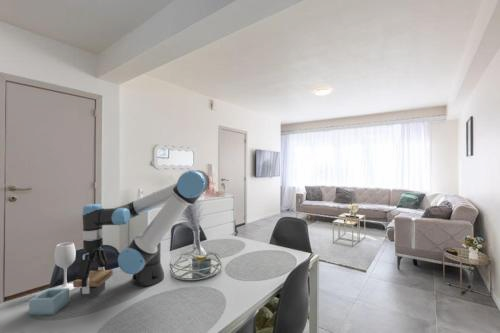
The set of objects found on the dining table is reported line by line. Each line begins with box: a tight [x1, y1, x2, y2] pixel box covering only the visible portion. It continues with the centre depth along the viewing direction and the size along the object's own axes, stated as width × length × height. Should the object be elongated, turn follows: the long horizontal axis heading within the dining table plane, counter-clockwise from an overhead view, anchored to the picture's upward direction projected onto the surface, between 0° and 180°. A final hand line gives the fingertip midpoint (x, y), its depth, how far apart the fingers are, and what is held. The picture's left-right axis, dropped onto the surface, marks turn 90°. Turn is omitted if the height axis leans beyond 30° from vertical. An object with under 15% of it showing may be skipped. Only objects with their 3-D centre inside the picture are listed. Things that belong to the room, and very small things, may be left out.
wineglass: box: [53, 241, 77, 292], centre depth 117 cm, size 9×9×21 cm
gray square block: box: [79, 281, 106, 298], centre depth 113 cm, size 7×7×4 cm
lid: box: [72, 269, 114, 288], centre depth 113 cm, size 11×11×2 cm
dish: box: [28, 288, 70, 316], centre depth 100 cm, size 9×9×6 cm
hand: (94, 286), depth 113 cm, fingers closed on lid, 11 cm apart
